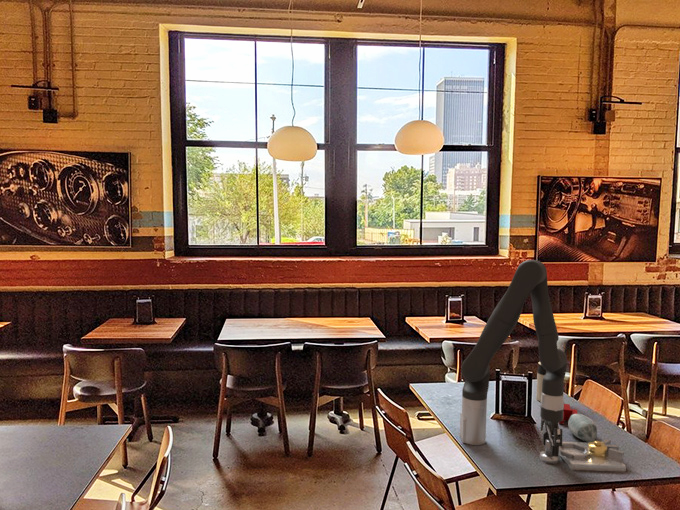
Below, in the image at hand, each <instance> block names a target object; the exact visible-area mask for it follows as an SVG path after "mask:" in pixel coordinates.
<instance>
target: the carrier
mask: <svg viewBox="0 0 680 510" xmlns="http://www.w3.org/2000/svg"><path fill="white" fill-rule="evenodd" d="M611 443H612V440H611V439H608V438H605V439H603V440H601V441H600V440H594V441H593V442H586V441H583V442H581V441H579V442H577V441H562V446H559V457H561V459H562V460H563V461H564V462H565V464H567V466H568V467H569V469H571V471H595V472H596V471H597V472H598V471H601V472H624V473H625V472H627V471H626V468H627V466H626V465H625V463H623V462H624V457H625V456H624V454H625V452H624V451H622V450H619V449H620V446H619V445H618V444H611Z"/></svg>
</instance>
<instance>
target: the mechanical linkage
mask: <svg viewBox="0 0 680 510" xmlns="http://www.w3.org/2000/svg"><path fill="white" fill-rule="evenodd" d="M573 414H579V413H578V410H577V409H572V408H571V404H570V403H564V412H563V421H561V422H559V423H558V425H564V424H565V421H567V422H568V421H569V418H570V417H571V415H573Z"/></svg>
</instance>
